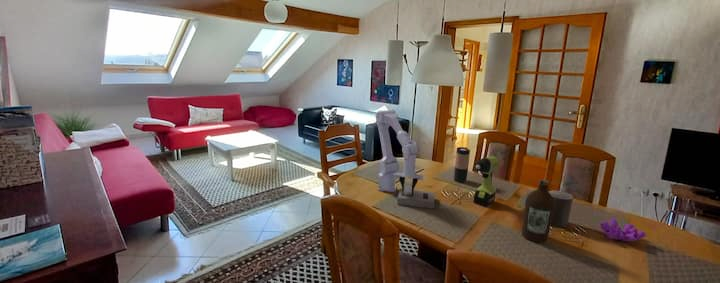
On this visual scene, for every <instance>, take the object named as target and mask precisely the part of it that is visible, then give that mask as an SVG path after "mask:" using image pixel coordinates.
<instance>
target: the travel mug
mask: <svg viewBox="0 0 720 283" xmlns="http://www.w3.org/2000/svg"><path fill="white" fill-rule="evenodd" d="M470 154H471V149H468V147H463V146H462V147H460V146H459V147H456V153H455V160H454V175H453V180H454V182H456V183H459V184H464V183H465V184H466V182H467V178H468V171H469V166H470V165H469V164H470V163H469V162H470V156H471V155H470Z"/></svg>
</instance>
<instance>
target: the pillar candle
mask: <svg viewBox="0 0 720 283" xmlns="http://www.w3.org/2000/svg"><path fill="white" fill-rule="evenodd" d="M548 192H549V193H550V194H551V196H552V197H553V198H554V200H555V211H554V214H553V218H552V222H551V226H552V227H555V228H567V227H568V225H569V220H570V219H569V218H570V214H571V210H572V206H573V205H572V204H573V200H574V196H573V195H572V194H570V193H567V192H565V191H560V190H550V191H549V190H548ZM551 226H550V227H551Z"/></svg>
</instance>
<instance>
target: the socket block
mask: <svg viewBox="0 0 720 283" xmlns="http://www.w3.org/2000/svg"><path fill="white" fill-rule="evenodd" d="M403 195H404V192H403V190H402V188H399V192H398V195H397V201H396V202H397V203H396V204H397V205H401V206H408V205H409V207H410V206H411V207H416V206H418V207H417V208H424V207H428V208H427V209H432V208H434V209H435V197H436V196H435V195H436V192H433V191H426V190H418V189H417V190H416V189H414V190H413V193H412V197H409V196H403Z"/></svg>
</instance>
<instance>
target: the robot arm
mask: <svg viewBox="0 0 720 283" xmlns="http://www.w3.org/2000/svg"><path fill="white" fill-rule="evenodd" d="M375 121H376V125H377V128H378V133H379V139H380V144H381V151H382V152H381V153H382V158H381V159H380V160H379V171H380V172H379V173H378V180H377V182H378V183H377V191H381V192H382V191H383V192H389V193H390V192H392V193H395V192H396V190H397V185H396V178H399V182H400V185H401V189H402V190H403V192H404V183H405V181H406V179H408V180H409V179H411V180H412V181H411V182H412V193H413V190H415V187H416V186H417V183H418V182H419V180H420V181H424V175H423V174H417V173H416V163H417V162H416V160H417V154H418V153H419V151H420V147H419V144H418V143H417V142H415V141H414V140H413V139H412V138H411V137H410V134H408V132H407V131H405V130H403V128H402V126H401V124H400V122H399V120H398V114H397V111H396V110H395V109H388V110H386V109H385V110H378V111H377V112H376V115H375ZM390 126H391V128H392V129H393V130H394V131H395V133H396V139H397V140H398V142H399V144H400V145H401V152H402V157H403V172H399V171H400V164H399V162H398V158H396V157H395V156H394V154H393V149H392V144H391V143H392V142H391V137H390V131H389V127H390Z"/></svg>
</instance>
